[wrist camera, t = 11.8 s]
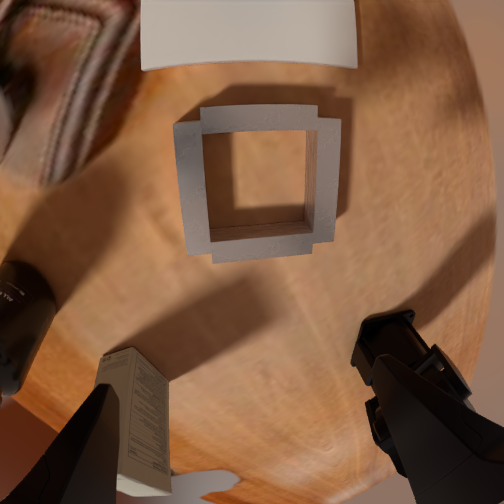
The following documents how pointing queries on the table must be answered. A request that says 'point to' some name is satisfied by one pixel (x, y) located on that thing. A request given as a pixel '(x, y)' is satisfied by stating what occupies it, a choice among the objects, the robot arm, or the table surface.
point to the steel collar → (265, 235)
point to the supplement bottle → (21, 322)
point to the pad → (248, 32)
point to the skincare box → (140, 422)
